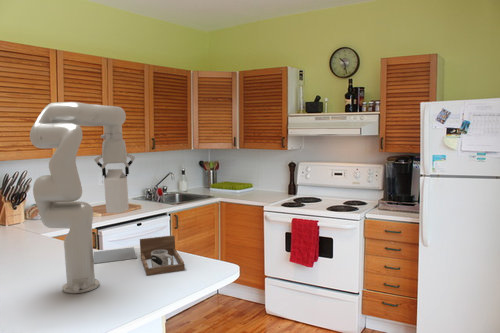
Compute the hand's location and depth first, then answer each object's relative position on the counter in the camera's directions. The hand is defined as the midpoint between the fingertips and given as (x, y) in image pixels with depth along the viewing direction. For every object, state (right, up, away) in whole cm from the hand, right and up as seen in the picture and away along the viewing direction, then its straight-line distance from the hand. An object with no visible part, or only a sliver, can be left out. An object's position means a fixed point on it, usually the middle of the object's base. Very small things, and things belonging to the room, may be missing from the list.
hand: (115, 176), depth 192 cm
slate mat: (-2, -36, +5) cm, 36 cm away
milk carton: (0, -16, +1) cm, 16 cm away
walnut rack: (+22, -37, -10) cm, 44 cm away
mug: (+24, -37, -14) cm, 47 cm away
